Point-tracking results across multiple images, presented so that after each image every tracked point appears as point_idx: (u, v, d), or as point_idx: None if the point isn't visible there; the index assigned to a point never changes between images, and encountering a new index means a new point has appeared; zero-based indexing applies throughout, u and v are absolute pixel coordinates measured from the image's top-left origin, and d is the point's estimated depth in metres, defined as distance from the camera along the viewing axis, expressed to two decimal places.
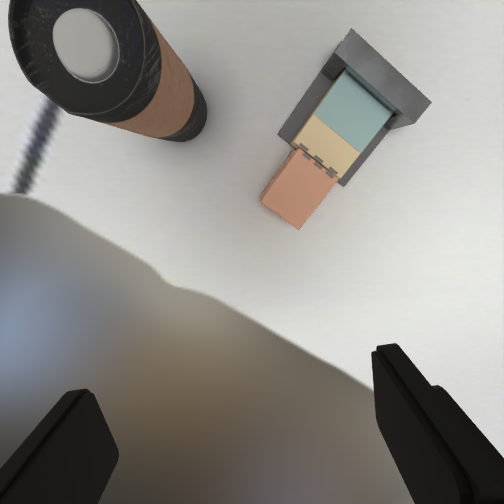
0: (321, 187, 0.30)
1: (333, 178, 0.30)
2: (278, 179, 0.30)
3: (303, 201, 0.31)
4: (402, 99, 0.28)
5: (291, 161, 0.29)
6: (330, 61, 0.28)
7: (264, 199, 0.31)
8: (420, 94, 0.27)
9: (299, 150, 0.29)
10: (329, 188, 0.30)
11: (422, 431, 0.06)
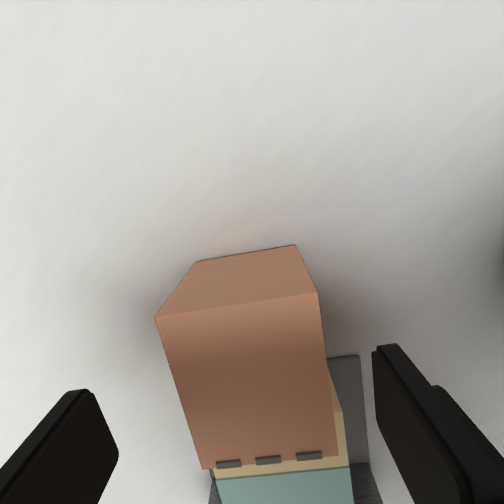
0: (216, 432, 0.10)
1: (212, 464, 0.11)
2: (323, 373, 0.10)
3: (219, 382, 0.10)
4: None
5: (331, 425, 0.10)
6: None
7: (313, 307, 0.09)
8: None
9: (334, 452, 0.11)
10: (199, 444, 0.11)
11: (422, 431, 0.06)
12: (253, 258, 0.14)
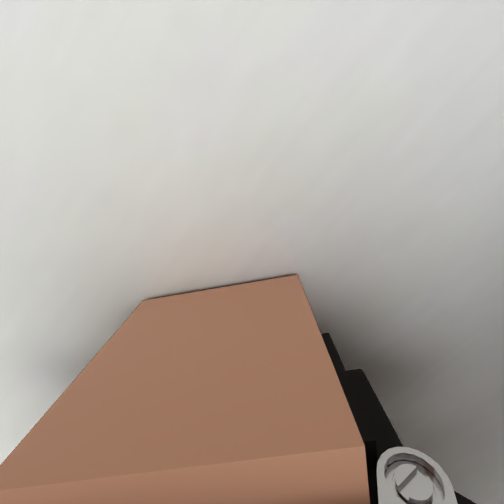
0: None
1: None
2: None
3: None
4: None
5: None
6: None
7: (353, 475, 0.04)
8: None
9: None
10: None
11: None
12: (230, 300, 0.08)
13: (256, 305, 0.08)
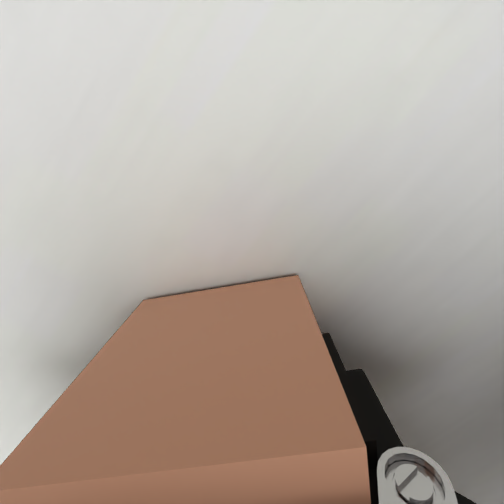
0: None
1: None
2: None
3: None
4: None
5: None
6: None
7: (354, 476, 0.04)
8: None
9: None
10: None
11: None
12: (231, 300, 0.08)
13: (257, 305, 0.08)
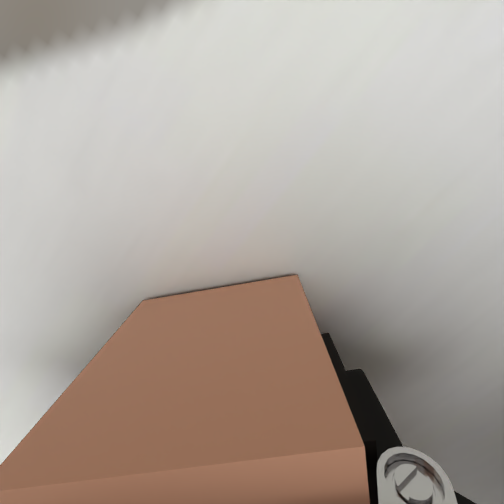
0: None
1: None
2: None
3: None
4: None
5: None
6: None
7: (353, 476, 0.04)
8: None
9: None
10: None
11: None
12: (230, 300, 0.08)
13: (256, 305, 0.08)
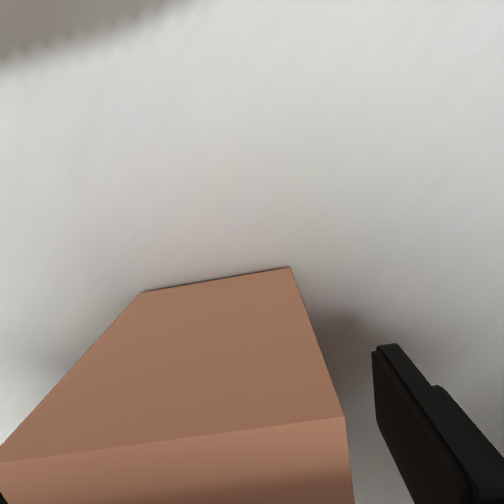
0: None
1: None
2: None
3: None
4: None
5: None
6: None
7: (334, 445, 0.04)
8: None
9: None
10: None
11: (422, 431, 0.06)
12: (225, 291, 0.09)
13: (249, 295, 0.08)
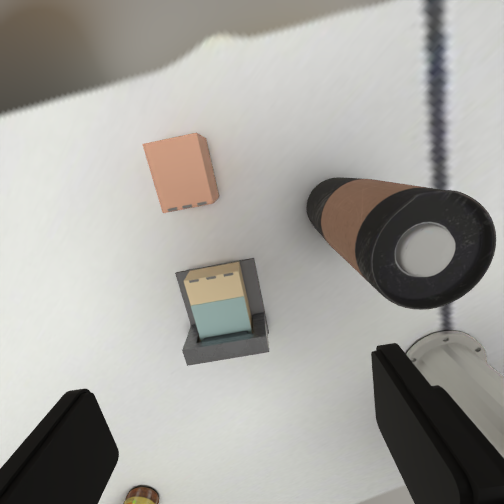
0: (167, 194, 0.28)
1: (166, 210, 0.29)
2: (202, 166, 0.28)
3: (166, 171, 0.28)
4: (203, 352, 0.35)
5: (208, 189, 0.28)
6: (263, 326, 0.36)
7: (195, 138, 0.27)
8: (197, 362, 0.35)
9: (211, 202, 0.29)
10: (160, 200, 0.29)
11: (422, 431, 0.06)
12: None
13: None
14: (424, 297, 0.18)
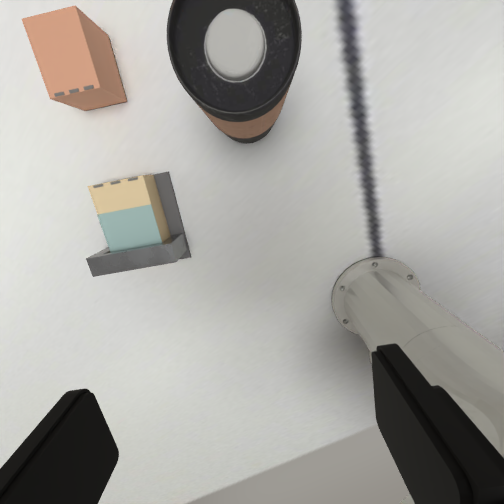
0: (52, 77, 0.28)
1: (53, 95, 0.28)
2: (85, 44, 0.27)
3: (49, 50, 0.27)
4: (108, 261, 0.33)
5: (93, 70, 0.27)
6: (174, 239, 0.35)
7: (75, 12, 0.26)
8: (103, 273, 0.34)
9: (98, 85, 0.28)
10: (46, 84, 0.28)
11: (422, 431, 0.06)
12: None
13: None
14: (246, 109, 0.17)
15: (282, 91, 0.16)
